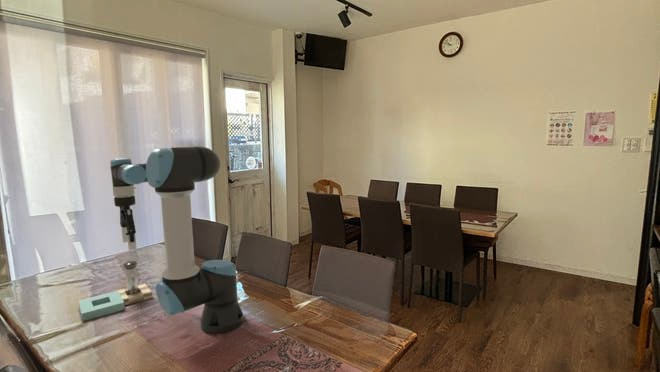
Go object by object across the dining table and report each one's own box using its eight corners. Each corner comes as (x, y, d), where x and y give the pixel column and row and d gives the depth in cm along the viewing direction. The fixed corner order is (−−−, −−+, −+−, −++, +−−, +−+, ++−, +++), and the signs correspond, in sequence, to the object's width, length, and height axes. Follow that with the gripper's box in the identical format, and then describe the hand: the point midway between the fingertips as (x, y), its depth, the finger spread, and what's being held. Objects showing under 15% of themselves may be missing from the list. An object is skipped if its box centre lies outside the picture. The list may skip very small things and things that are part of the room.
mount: (152, 297, 153) (151, 292, 153) (120, 306, 146) (119, 300, 145) (145, 288, 162) (145, 283, 162) (115, 296, 155) (114, 290, 155)
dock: (124, 309, 143) (124, 302, 143) (82, 321, 135) (81, 313, 134) (118, 297, 154) (118, 290, 154) (79, 307, 145) (78, 300, 145)
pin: (141, 297, 154) (138, 263, 151) (128, 300, 151) (124, 266, 148) (138, 293, 158) (135, 260, 155) (126, 296, 154) (122, 262, 152)
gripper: (140, 198, 141) (145, 250, 144) (129, 191, 160) (133, 237, 163) (118, 201, 136) (124, 255, 139) (109, 193, 155) (114, 240, 159)
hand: (129, 245), depth 151 cm, fingers open, 13 cm apart
